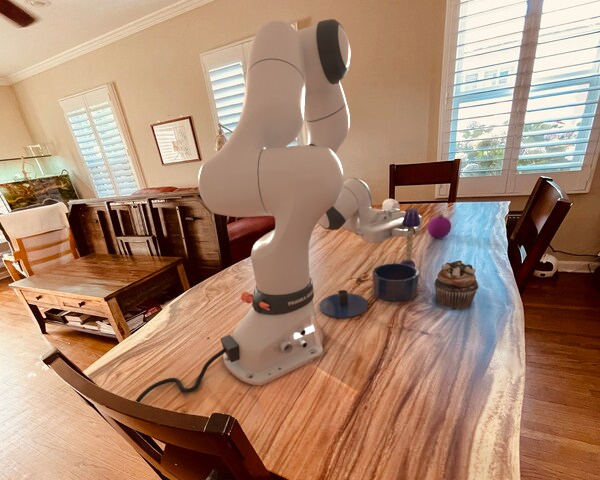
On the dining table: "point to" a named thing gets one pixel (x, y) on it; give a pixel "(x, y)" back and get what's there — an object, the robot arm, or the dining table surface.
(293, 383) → the dining table surface
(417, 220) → the toy lamp
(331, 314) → the pot lid
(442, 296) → the cupcake
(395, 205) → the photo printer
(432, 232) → the christmas ornament
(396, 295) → the pot
